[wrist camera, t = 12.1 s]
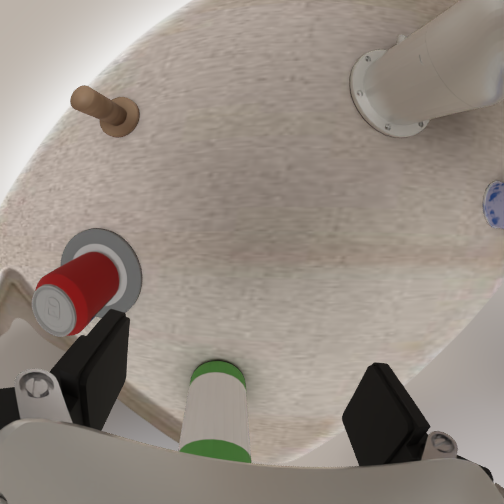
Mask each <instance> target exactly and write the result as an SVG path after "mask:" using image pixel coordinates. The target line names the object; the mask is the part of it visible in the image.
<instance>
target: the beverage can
mask: <svg viewBox="0 0 504 504" xmlns="http://www.w3.org/2000/svg"><path fill="white" fill-rule="evenodd" d="M118 288H119V274H118V271H117V268H116V266H115V265H114V263H113V262H112V261H111V260H110V259H109V258H108V257H107V256H105V255H104V254H102V253H99V252H88V253H85V254H83V255H81V256H79V257H77V258H75V259H73V260H71V261H70V262H68V263H66V264H64V265H62V266H61V267H59V268H57V269H55V270H54V271H52V272H50V273H49V274H47V275H45V276H44V277H42V278H41V280H40V281H39V282H38V284H37V287H36V290H35V292H34V294H33V298H32V309H33V313H34V316H35V318H36V320H37V321H38V323H39V324H40V326H41V327H42V328H43V329H44V330H45V331H47V332H48V333H50V334H52V335H54V336H59V337H62V336H66V335H67V336H70V335H75V334H78V333H79V332H81V331H82V330H83V329H84V328H85V327H86V326H87V325H88V324H89V323H90V322H91V321H92V319H93V318H94V317H95V316H96V315H97V314H98V313H99V312H100V311H101V310H102V309H103V308H104V307H105V306H106V304H107V303H108V302H109V301H110V300H111V299H112V298H113V297H114V296H115V294H116V293H117V291H118Z"/></svg>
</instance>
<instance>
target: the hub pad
mask: <svg viewBox="0 0 504 504" xmlns="http://www.w3.org/2000/svg"><path fill="white" fill-rule="evenodd" d="M88 252H99V253H102V254H104V255H105V256H107V257H108V258H109V259H110V260H111V261H112V262H113V263H114V265H115V266H116V268H117V271H118V274H119V288H118V291H117V293H116V294H115V296H114V297H113V298H112V299H111V300H110V301H109V302H108V303H107V304H106V306H105V307H104V308H103V309H102V310H101V311H100V312H99V313H98V314H97V315H96V317H100V318H102V317H103V316H104V315H105V314H106V313H107V312H108V311H109V310H110V309H114V310H117V311H121V312H124V313H125V312H127V311H128V310H129V309H130V308H131V307H132V305H133V304H134V303H135V302H136V300H137V298H138V296H139V294H140V290H141V286H142V272H141V267H140V263H139V261H138V258H137V256H136V254H135V252H134V251H133V249H132V248H131V246H130V245H129V244H128V243H127V242H126V241H125V240H124V239H123V238H122V237H120V236H119V235H117V234H115V233H114V232H111V231H109V230H105V229H97V228H96V229H89V230H86V231H83V232H81V233H79V234H77V235H76V236H74V237H73V238H72V239H71V240H70V241H69V242H68V244H67V245H66V247H65V249H64V251H63V254H62V258H61V266H62V265H64V264H66V263H68V262H70V261H71V260H73V259H75V258H77V257H79V256H81V255H83V254H85V253H88Z"/></svg>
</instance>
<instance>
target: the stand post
mask: <svg viewBox="0 0 504 504" xmlns="http://www.w3.org/2000/svg"><path fill="white" fill-rule="evenodd" d="M70 102H71V106H72V107H73V108H74V109H76V110H78V111H81V112H83V113H86V114H88V115H90V116H93V117H95V118H98V119H100V125H101V128H102V130H103V131H104V132H105V133H106V134H108V135H110V136H113V137H123V136H126V135H128V134H129V133H131V132H132V131H133V130H134V129H135V127H136V126H137V124H138V121H139V109H138V107H137V105H136V104H135V103H134V102H133V101H131V100H130V99H128V98H125V97H118V98H115V99H113V100H110V99H108V98H106V97H105V96H103V95H102V94H100V93H98V92H97V91H95V90H93V89H92V88H90V87H88V86H80V87H78V88H77V89H76V90H75V91H74V92H73V94H72V96H71V101H70Z"/></svg>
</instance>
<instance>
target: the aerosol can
mask: <svg viewBox="0 0 504 504" xmlns="http://www.w3.org/2000/svg"><path fill="white" fill-rule="evenodd" d="M483 213H484V216H485V219H486V221H487V223H488V224H489V225H490V226H491V227H494V228H502V229H504V183H502V182H499V181H494V182H492V183H490V184H489V185H488V187H487V189H486V191H485V194H484V198H483Z"/></svg>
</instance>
